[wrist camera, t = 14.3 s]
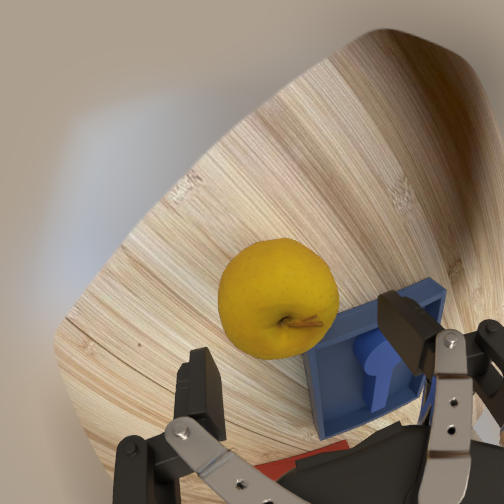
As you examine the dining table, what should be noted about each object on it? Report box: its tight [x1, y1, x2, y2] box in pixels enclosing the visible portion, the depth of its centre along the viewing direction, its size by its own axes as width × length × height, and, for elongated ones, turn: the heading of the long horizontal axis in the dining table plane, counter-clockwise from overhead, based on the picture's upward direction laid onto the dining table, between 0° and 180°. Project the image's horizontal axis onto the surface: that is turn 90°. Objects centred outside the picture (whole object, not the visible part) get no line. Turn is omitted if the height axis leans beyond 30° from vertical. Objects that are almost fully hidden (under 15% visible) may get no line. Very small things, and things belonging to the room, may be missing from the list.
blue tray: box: [302, 277, 446, 441], centre depth 23 cm, size 13×16×3 cm
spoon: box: [353, 327, 401, 413], centre depth 23 cm, size 11×4×2 cm, turn 14°
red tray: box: [253, 440, 350, 481], centre depth 32 cm, size 15×13×3 cm
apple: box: [218, 238, 339, 360], centre depth 15 cm, size 6×6×8 cm
